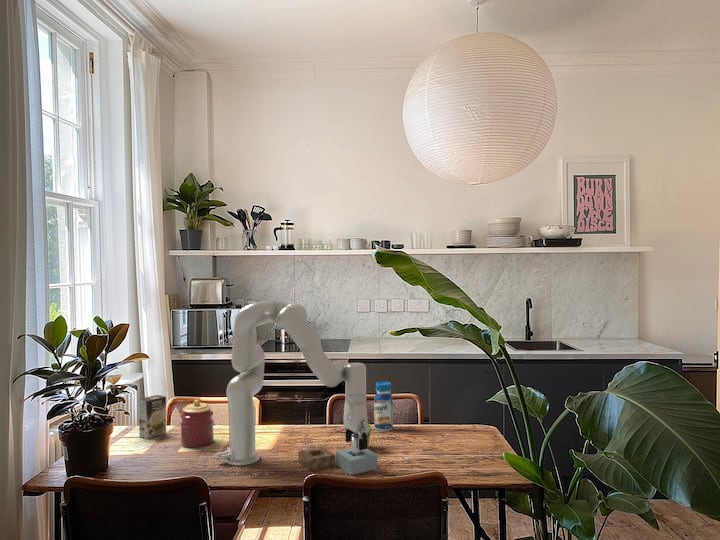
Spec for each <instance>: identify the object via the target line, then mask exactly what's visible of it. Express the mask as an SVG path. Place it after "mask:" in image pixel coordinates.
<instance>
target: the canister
mask: <svg viewBox="0 0 720 540" xmlns="http://www.w3.org/2000/svg"><path fill="white" fill-rule="evenodd" d="M213 415H214V411H213V410H212V406H211V405H209V404H207V403H206V402H201V401H200V400H199V399H195V400H194V401H193V403H189V404H187V405H186V406H185V407H183V408H182V413H181V414H180V415H179V416H180V418H181V422H180V443H181V446H183V447H184V448H189V449H190V448H201V447H206V446H209V445H211V444H212V443H213V442H214V439H215V434H214V421H215V420H214V419H213Z"/></svg>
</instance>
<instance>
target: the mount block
mask: <svg viewBox="0 0 720 540" xmlns="http://www.w3.org/2000/svg"><path fill="white" fill-rule="evenodd" d="M298 464H300V465H301V466H302V467H304V468H305V467H306V468H305V469H307V470H308V471H309V472H313V471H317V470H321V469H326V468H330V467H335V466H336V453H334V452H332V451H330V450H329V449H328V448H326V447H325V446H319V447H318V446H317V447H312V448H308V449H302V450H298Z"/></svg>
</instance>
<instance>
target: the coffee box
mask: <svg viewBox="0 0 720 540" xmlns="http://www.w3.org/2000/svg"><path fill="white" fill-rule="evenodd" d="M138 401H139V402H138V403H139V404H138V405H139V406H138V407H139V410H138V414H139V416H138V419H139V421H138V423H139V425H138V427H139V428H138V430H139V431H138V433H139V435H138V436H139V437H141V438H143V437H144V439H146V438H147V440H148V438H149V439H151V438H155V436H156V437H159V436H163V435H166V434H167V397H166V396H165V395H164V396H163V395H161V394H160V395H159V394H156V395H152V396H146V397H142V398H139V399H138ZM165 433H166V434H165ZM158 435H159V436H158Z"/></svg>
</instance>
